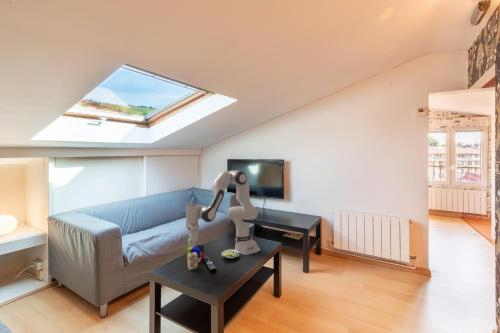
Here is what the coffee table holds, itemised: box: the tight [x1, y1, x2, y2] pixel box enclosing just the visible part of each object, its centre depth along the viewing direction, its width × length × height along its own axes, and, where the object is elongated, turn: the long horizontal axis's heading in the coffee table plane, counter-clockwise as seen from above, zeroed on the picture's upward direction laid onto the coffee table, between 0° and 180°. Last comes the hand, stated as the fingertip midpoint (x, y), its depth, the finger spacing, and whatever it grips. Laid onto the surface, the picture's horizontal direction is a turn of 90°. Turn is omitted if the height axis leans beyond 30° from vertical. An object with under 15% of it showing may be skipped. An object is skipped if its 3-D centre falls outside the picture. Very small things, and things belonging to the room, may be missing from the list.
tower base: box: [187, 261, 198, 271], centre depth 188 cm, size 6×6×5 cm
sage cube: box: [187, 237, 197, 248], centre depth 187 cm, size 5×5×5 cm
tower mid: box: [187, 252, 198, 263], centre depth 188 cm, size 6×6×5 cm
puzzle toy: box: [186, 244, 205, 264], centre depth 202 cm, size 10×10×10 cm
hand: (192, 243), depth 187 cm, fingers closed on sage cube, 5 cm apart
